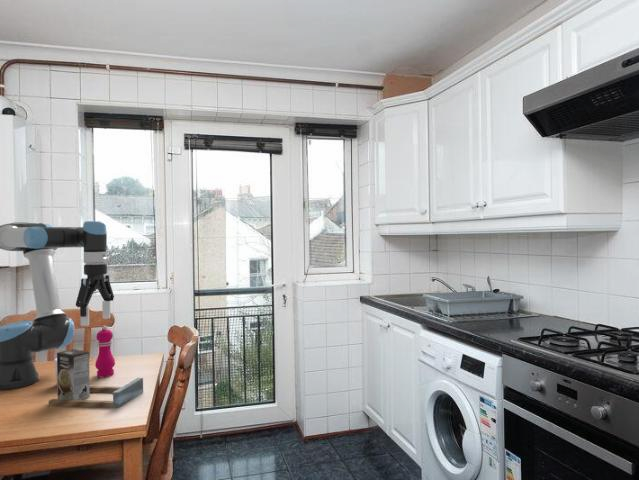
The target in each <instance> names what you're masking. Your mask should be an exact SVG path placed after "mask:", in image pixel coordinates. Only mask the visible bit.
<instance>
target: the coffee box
mask: <svg viewBox="0 0 639 480" xmlns="http://www.w3.org/2000/svg"><path fill="white" fill-rule="evenodd" d="M56 358H57V379H58V386H57V398H58V399H64V400H86V399H87V398H90V397H91V396H90V395H91V394H90V393H91V392H90V386H91V385H90V351H86V350H81V349H75V348H72V349H68V350H61V351H58V352H57V353H56ZM57 379H56V380H57Z"/></svg>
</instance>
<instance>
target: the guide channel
mask: <svg viewBox="0 0 639 480" xmlns="http://www.w3.org/2000/svg"><path fill="white" fill-rule="evenodd" d="M143 392H144V377H137V378H134V379H133V380H132V381H129V382H128V383H127V384H125V385H123V386H110V385H109V386H107V385H106V386H103V385H102V386H101V385H98V386H97V385H92V386H91V385H90V393H108V394H109V393H111V394H112V400H99V399H97V400H93V399H91V400H90V399H82V400H64V399H57V398H52V399H50V400H48V407H80V408H109V409H110V408H112V409H113V408H114V409H119V408H121V407H123V406H124V405H126V404H127V403H129V402H130V401H131V400H134V399H135V398H137V396H139V395H140V394H142V393H143Z"/></svg>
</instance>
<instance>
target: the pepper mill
mask: <svg viewBox="0 0 639 480" xmlns="http://www.w3.org/2000/svg"><path fill="white" fill-rule="evenodd" d="M113 335H114V334H113V331H112V330H110V329H108V327H107V325H103V326H102V327H101V330H99V331H98V332H97V334H96V340H97V341H98V345H97V346H98V351H99V352H98V355H97V358H96V361H95V365H94V366H95V368H96V370H97V371H96V376H97V378H105V377H110V376H113V375H114V374H115V369H114V366H115V365H116V362H115V358H114V355H113V353H112V349H111V345H112V339H113V337H114V336H113Z"/></svg>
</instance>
